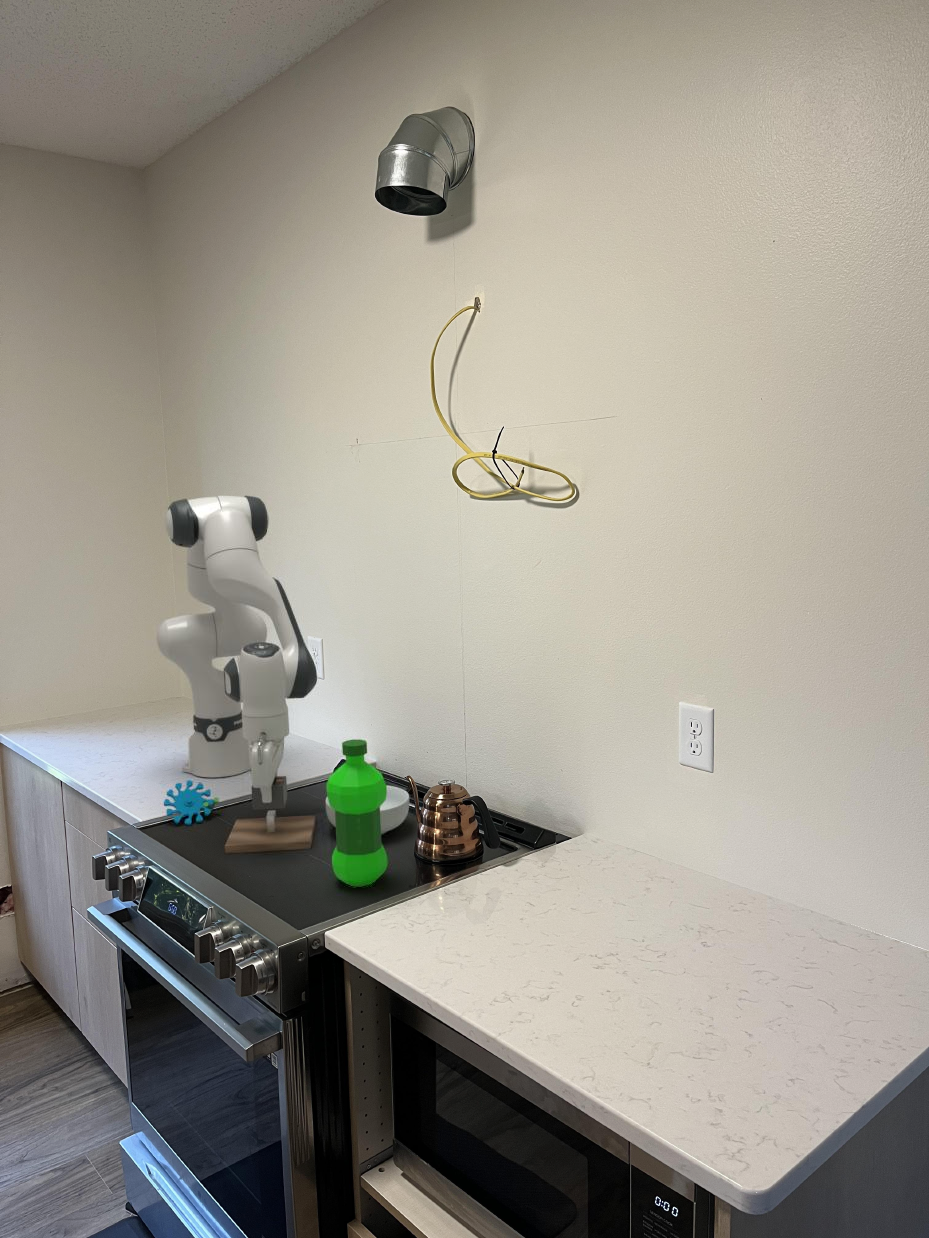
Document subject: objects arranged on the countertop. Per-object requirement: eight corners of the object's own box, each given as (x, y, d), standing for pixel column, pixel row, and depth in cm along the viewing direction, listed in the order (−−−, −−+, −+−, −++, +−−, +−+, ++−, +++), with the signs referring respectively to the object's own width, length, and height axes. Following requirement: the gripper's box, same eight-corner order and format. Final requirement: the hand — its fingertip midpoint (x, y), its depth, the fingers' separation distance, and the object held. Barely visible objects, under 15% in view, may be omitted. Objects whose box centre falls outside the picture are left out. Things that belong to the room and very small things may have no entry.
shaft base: (237, 826, 188) (236, 819, 188) (315, 822, 190) (315, 815, 189) (225, 853, 174) (224, 845, 174) (310, 848, 176) (309, 841, 176)
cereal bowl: (388, 851, 174) (387, 815, 173) (311, 841, 180) (309, 806, 178) (423, 819, 189) (422, 787, 188) (351, 811, 195) (349, 779, 194)
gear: (162, 822, 187) (165, 778, 193) (161, 834, 192) (164, 791, 198) (218, 822, 191) (219, 779, 197) (216, 834, 195) (217, 792, 201)
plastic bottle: (337, 868, 166) (331, 734, 163) (395, 869, 165) (390, 734, 161) (323, 893, 156) (316, 751, 153) (384, 894, 155) (379, 751, 152)
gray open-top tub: (257, 799, 184) (255, 776, 183) (287, 797, 184) (286, 775, 184) (252, 809, 178) (251, 786, 177) (284, 808, 178) (282, 784, 178)
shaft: (269, 827, 183) (268, 810, 183) (276, 827, 183) (275, 810, 183) (267, 832, 180) (266, 815, 180) (274, 832, 180) (273, 815, 180)
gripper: (276, 740, 169) (280, 812, 171) (287, 713, 189) (291, 778, 191) (241, 742, 168) (245, 814, 170) (256, 714, 188) (260, 779, 190)
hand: (269, 795), depth 181 cm, fingers closed on gray open-top tub, 6 cm apart
